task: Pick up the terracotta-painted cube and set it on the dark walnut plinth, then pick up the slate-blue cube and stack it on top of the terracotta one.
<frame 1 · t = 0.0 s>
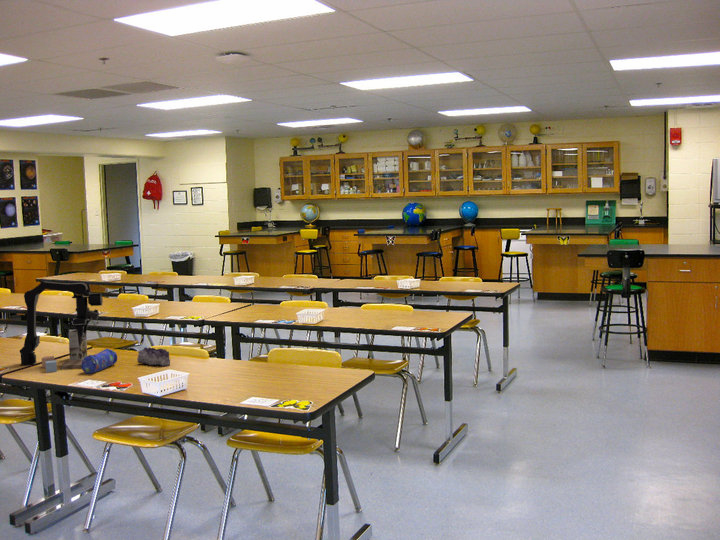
hand: (83, 334, 369), 15 cm above the table, fingers open, 9 cm apart
plinth: (75, 366, 359), on the table
geode: (155, 364, 363), on the table
coffee box: (78, 359, 376), on the table
slate block: (51, 371, 348), on the table
pencil case: (99, 370, 351), on the table
terracotta block: (48, 366, 359), on the table
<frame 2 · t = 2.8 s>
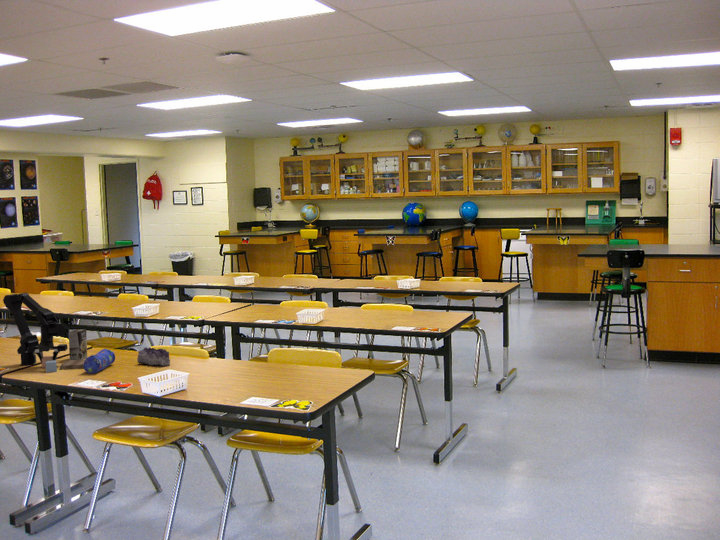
hand: (48, 364, 359), 1 cm above the table, fingers closed on terracotta block, 5 cm apart
terracotta block: (48, 366, 359), on the table, touching gripper
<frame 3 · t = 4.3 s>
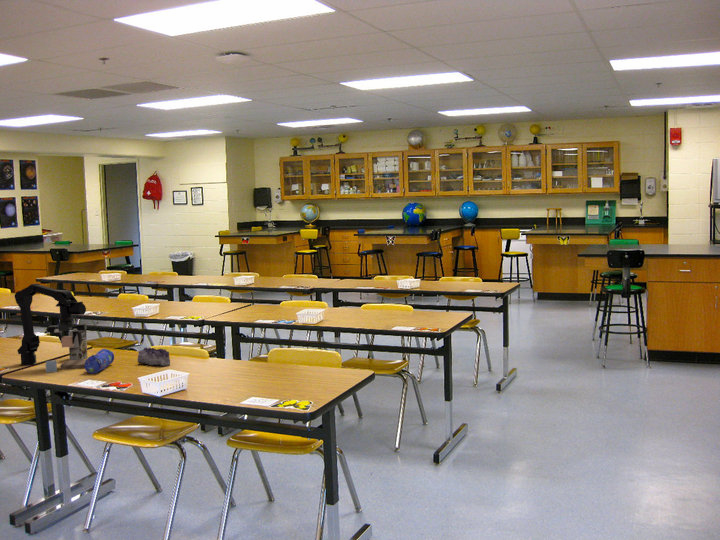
hand: (68, 344, 357), 12 cm above the table, fingers closed on terracotta block, 5 cm apart
terracotta block: (68, 346, 357), point 11 cm above the table, touching gripper
when the fingers open (4 cm above the table, at t = 6.2 s): terracotta block stays where it is, resting on plinth.
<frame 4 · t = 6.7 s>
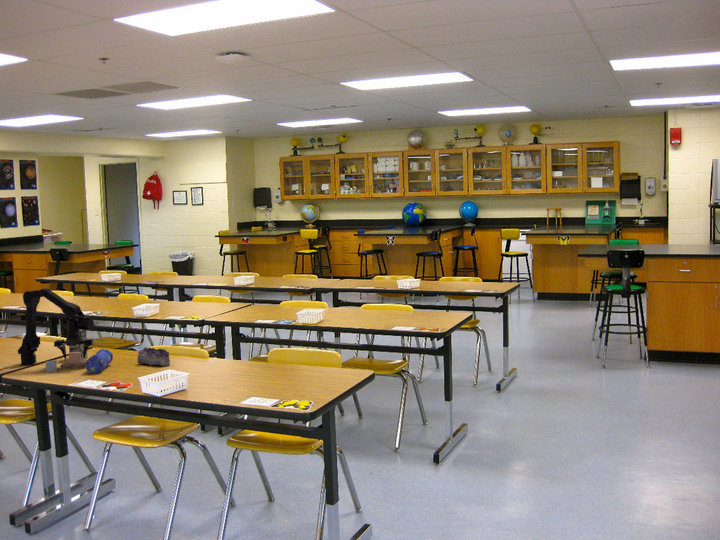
hand: (74, 358, 358), 4 cm above the table, fingers open, 9 cm apart
terracotta block: (74, 362, 358), point 2 cm above the table, touching plinth
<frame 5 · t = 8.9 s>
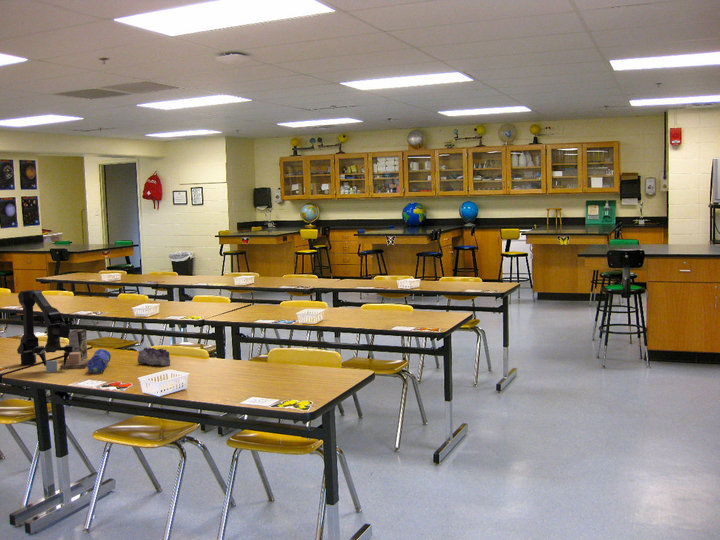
hand: (54, 365, 349), 2 cm above the table, fingers open, 9 cm apart
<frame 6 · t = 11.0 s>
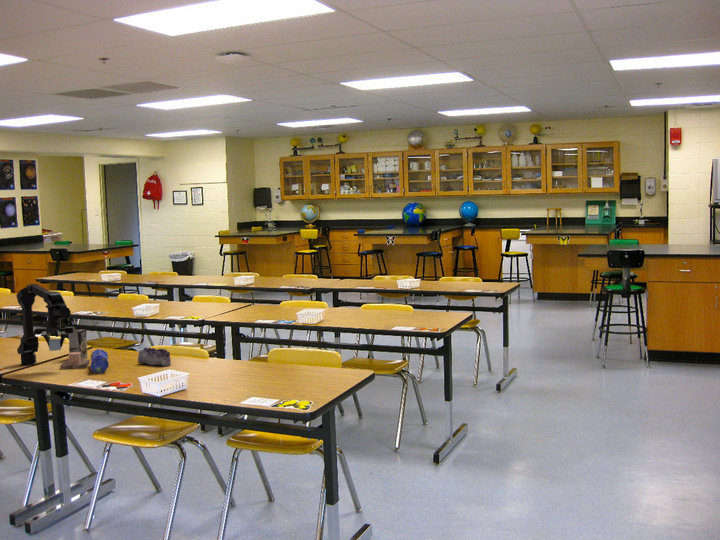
hand: (55, 347, 349), 12 cm above the table, fingers closed on slate block, 5 cm apart
slate block: (55, 349, 348), point 11 cm above the table, touching gripper
when the fingers open (9 cm above the table, at t = 12.7 s): slate block stays where it is, resting on terracotta block.
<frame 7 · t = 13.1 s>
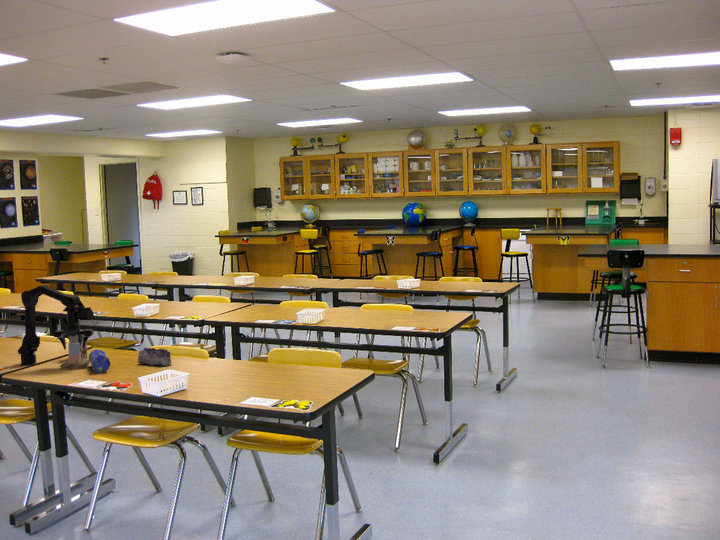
hand: (74, 349, 358), 9 cm above the table, fingers open, 9 cm apart
slate block: (74, 353, 357), point 7 cm above the table, touching terracotta block
terracotta block: (74, 362, 358), point 2 cm above the table, touching plinth, slate block
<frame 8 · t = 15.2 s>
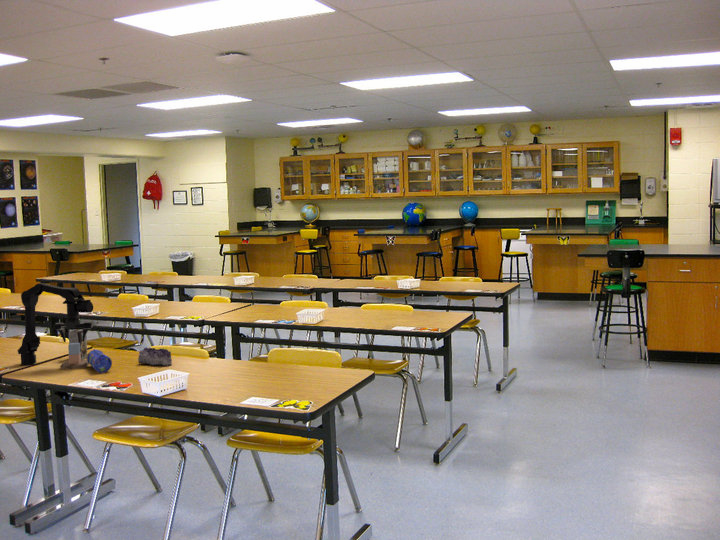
hand: (74, 341, 357), 13 cm above the table, fingers open, 9 cm apart
at the end: terracotta block 0.1 cm off-centre on the plinth, point 2.0 cm above the plinth's base; slate block 0.9 cm off-centre on the terracotta block, point 5.0 cm above the terracotta block's base; slate block tilted 0° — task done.
